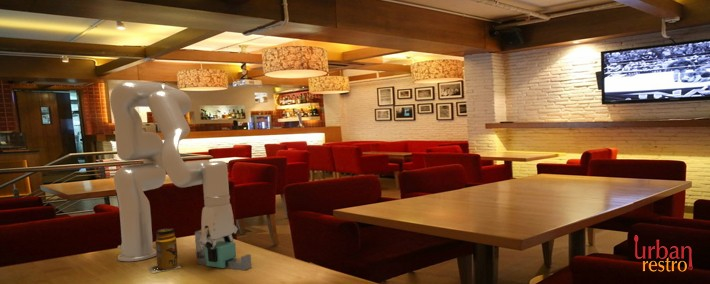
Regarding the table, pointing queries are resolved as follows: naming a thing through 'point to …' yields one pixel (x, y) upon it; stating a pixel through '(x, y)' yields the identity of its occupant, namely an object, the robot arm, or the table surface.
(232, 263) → the rail
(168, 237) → the condiment
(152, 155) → the robot arm
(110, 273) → the table surface
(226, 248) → the carriage
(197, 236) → the frame
